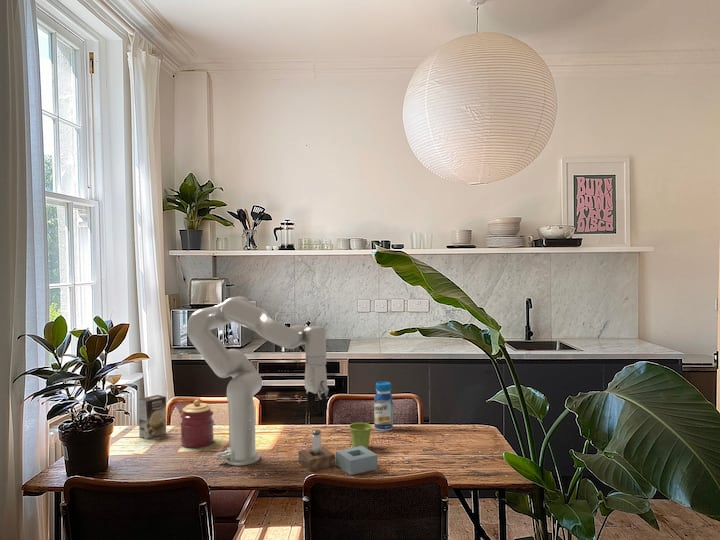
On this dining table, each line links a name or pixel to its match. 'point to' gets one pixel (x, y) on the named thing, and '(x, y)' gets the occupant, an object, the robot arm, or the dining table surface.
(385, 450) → the dining table surface
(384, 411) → the beverage bottle
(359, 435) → the plant pot
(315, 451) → the pin
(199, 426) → the canister
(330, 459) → the mount block
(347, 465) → the dock block
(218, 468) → the dining table surface
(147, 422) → the coffee box
